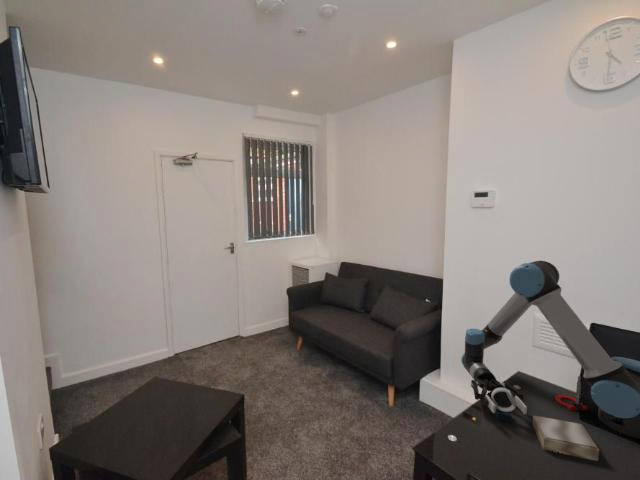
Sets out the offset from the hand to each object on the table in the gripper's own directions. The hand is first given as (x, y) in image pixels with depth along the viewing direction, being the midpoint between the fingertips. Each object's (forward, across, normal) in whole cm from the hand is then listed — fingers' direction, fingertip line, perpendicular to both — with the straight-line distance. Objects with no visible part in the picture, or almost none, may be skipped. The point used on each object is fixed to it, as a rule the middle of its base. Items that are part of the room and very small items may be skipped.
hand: (509, 409), depth 111 cm
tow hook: (-15, -30, -6) cm, 34 cm away
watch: (-4, 0, -6) cm, 8 cm away
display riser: (+7, -14, -6) cm, 16 cm away
